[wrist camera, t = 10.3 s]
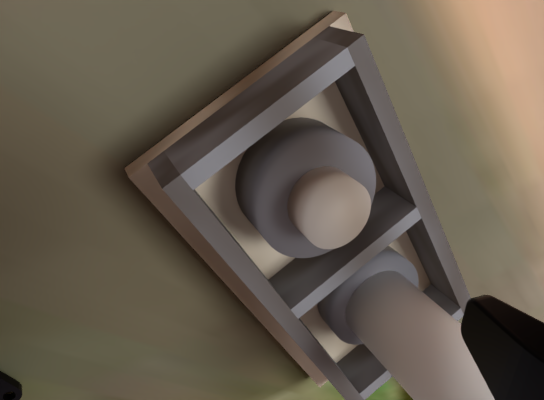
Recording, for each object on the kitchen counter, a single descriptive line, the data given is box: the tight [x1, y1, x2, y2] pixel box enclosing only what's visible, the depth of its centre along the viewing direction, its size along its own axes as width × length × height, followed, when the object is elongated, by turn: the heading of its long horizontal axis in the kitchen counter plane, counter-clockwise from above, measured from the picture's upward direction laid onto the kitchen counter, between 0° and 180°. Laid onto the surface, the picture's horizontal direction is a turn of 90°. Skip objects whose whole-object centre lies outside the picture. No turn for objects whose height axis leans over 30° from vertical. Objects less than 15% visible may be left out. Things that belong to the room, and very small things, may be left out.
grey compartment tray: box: [124, 11, 471, 400], centre depth 23 cm, size 11×18×5 cm, turn 29°
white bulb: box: [318, 246, 495, 400], centre depth 23 cm, size 6×6×11 cm
